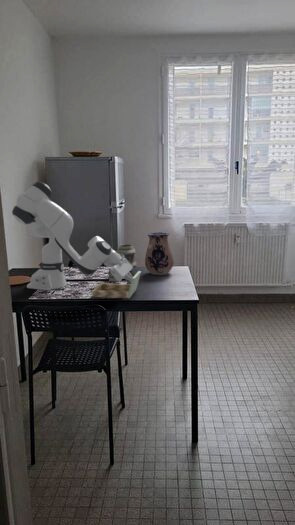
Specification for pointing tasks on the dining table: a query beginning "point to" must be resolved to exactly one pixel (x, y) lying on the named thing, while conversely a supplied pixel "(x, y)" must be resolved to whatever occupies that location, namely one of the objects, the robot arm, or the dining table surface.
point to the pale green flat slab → (134, 284)
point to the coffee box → (111, 277)
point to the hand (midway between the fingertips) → (133, 280)
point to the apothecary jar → (128, 254)
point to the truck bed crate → (111, 290)
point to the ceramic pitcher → (158, 254)
